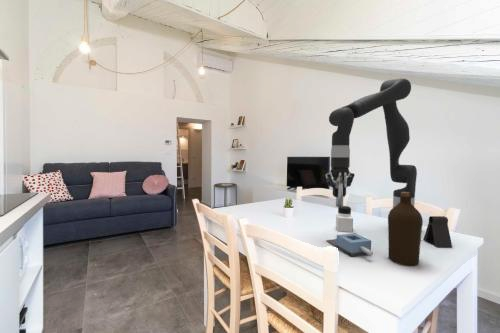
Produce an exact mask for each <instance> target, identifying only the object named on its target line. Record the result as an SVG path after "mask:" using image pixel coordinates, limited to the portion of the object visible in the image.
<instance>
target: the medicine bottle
mask: <svg viewBox="0 0 500 333" xmlns="http://www.w3.org/2000/svg"><path fill="white" fill-rule="evenodd" d="M337 208H338V210H337V213H336V214H335V227H336V230H337V232H347V233H348V232H349V233H353V232H354V226H353V225H354V218H353V216H352V208H351V207H350V206H348V205H343V207H337Z"/></svg>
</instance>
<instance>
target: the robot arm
mask: <svg viewBox="0 0 500 333" xmlns="http://www.w3.org/2000/svg"><path fill="white" fill-rule="evenodd" d="M411 91H412V84H411V82H410V80H408V79H406V78H395V79H388V80H385V81H384V82H382V83H381V85H380V88H379V91H378V92H375V93H372V94H369V95H366V96H363V97H360V98H359V99H357V100H354V101H353V102H351V103H349V104H346V105H344V106H342V107H339V108H337V109H335V110H332V111H331V113H330V114H329V117H328V121H329V123H330V124H331V126H334V127H337V129H336V130H335V131H334V132H332V135H331V149H330V171H329V172H327V173H325V174H324V177H325V180H326V183H327V185H328V187H330V188H332V196H333V197H334V198H336V197H338V184H339V182H340V177H341V176H343V180H344V182H343V198H345V197H346V195H347V188H348V187H351V185H352V183H353V180H354V178H355V173H353V172H351V171H350V170H349V168H350V167H351V166H350V161H351V159H350V157H351V156H350V155H351V149H350V137H351V136H350V135H351V132H352V129H353V125H354V120H355V119H357V118H361V117H362V116H365V115H366V114H368V113H370V112H373V111H374V110H377V109H378V108H381V107H382V109H383V110H382V111H383V113H384V120H385V127H386V130H385V131H386V138H387V145H388V154H389V171H390V172H389V173H390V179H391V181H392V182H394V183H400V184H406V185H405V186H404V187H402V188H398V189H395V190H394V191H393V193H392V194H393V197H392V208H394V207H395V206H396V205H397V204H399V203H400V196H401V192H410V193H411V204H412V205H413V206H414V207H415V203H416V202H415V200H416V199H415V198H416V186H417V184H416V183H417V176H418V170H417V169H418V168H417V167H416V166H415V165H414V164H400V158H401V155H402V153H403V152H404V150H405V149H406V147H407V146H408V144H409V142H410V139H411V138H410V127H409V124H408V123H407V120H406V119H405V118H404V116H403V115H402V113H400V110H399V109H398V105H397V101H401V100H404V99H406V98H407V97H408V96H409V95H410V93H411Z"/></svg>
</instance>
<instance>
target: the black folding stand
mask: <svg viewBox="0 0 500 333" xmlns="http://www.w3.org/2000/svg"><path fill="white" fill-rule="evenodd" d="M448 223H449V218H448V217H447V216H443V215H442V216H439V215H437V216H434V215H433V216H432V215H430V216H429V217H428V224H427V227H426V230H425V232H424V235H423V236H424V237H423V238H422V239H423V241H424V242H425V243H427V244H430V245H431V246H434V247H435V248H436V249H439V248H440V249H447V248H448V249H453V243H452V239H451V234H450V229H449V224H448Z"/></svg>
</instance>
